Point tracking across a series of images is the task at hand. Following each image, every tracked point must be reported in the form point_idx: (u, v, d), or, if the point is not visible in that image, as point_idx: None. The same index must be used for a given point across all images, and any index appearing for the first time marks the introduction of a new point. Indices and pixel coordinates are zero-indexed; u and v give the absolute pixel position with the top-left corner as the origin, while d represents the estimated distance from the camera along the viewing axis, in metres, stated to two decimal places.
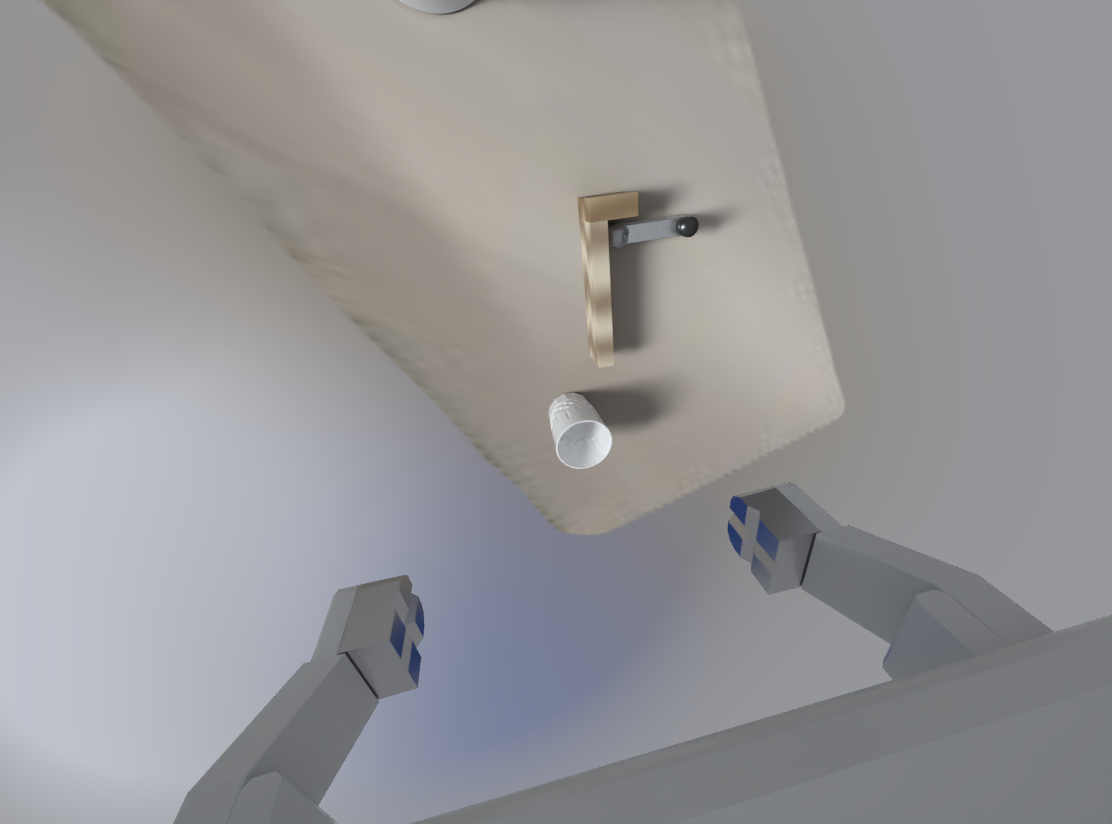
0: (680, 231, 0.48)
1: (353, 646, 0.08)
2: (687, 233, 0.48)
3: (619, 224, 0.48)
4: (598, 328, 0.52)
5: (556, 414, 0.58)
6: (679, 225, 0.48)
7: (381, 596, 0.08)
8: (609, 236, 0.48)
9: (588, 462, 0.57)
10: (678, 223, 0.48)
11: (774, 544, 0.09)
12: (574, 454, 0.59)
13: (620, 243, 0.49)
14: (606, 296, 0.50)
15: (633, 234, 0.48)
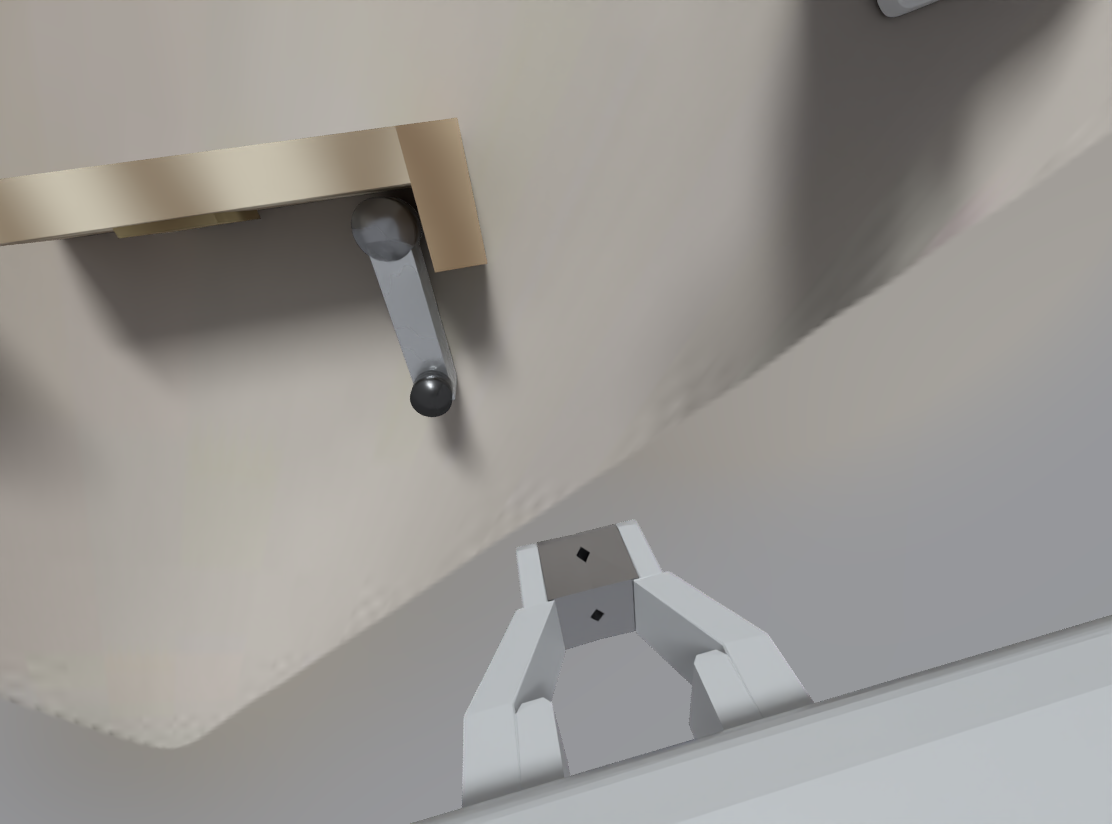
0: (418, 381, 0.22)
1: (559, 594, 0.08)
2: (417, 397, 0.22)
3: (411, 231, 0.19)
4: (57, 175, 0.15)
5: None
6: (431, 377, 0.22)
7: (565, 551, 0.09)
8: (377, 204, 0.18)
9: None
10: (436, 374, 0.22)
11: None
12: None
13: (366, 239, 0.19)
14: (189, 198, 0.16)
15: (395, 272, 0.20)
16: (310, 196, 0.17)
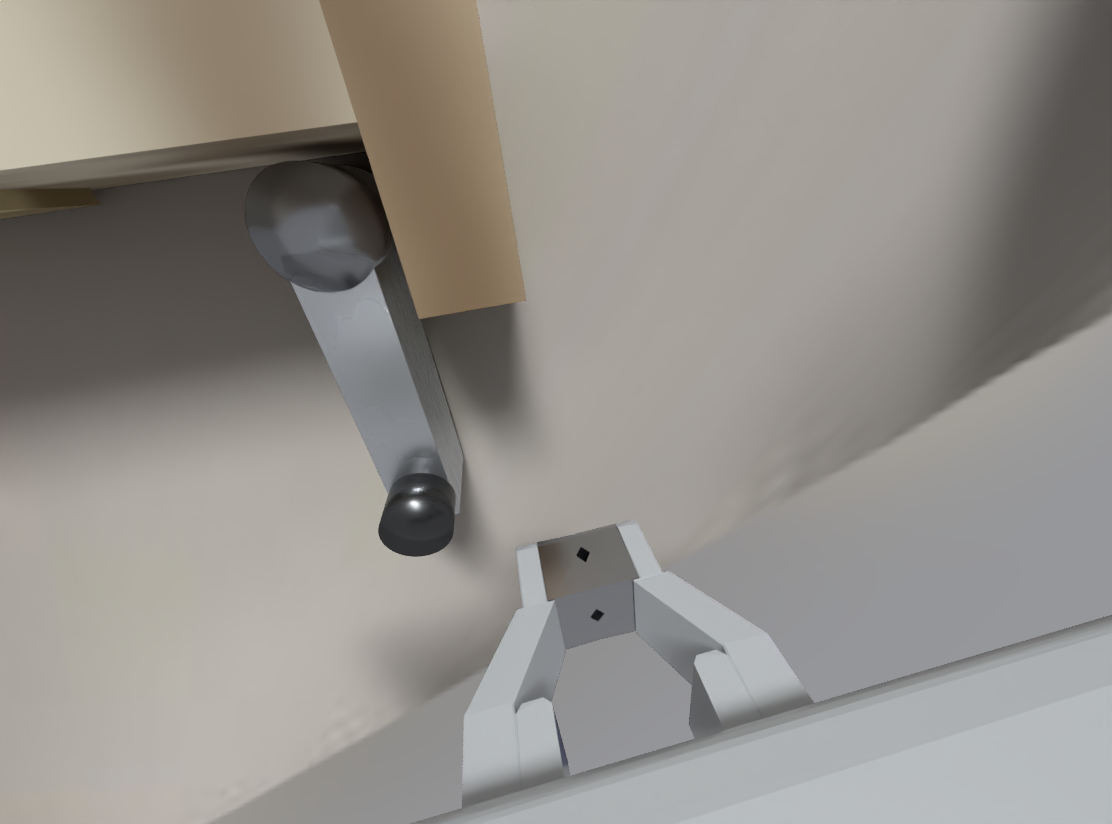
0: (394, 500, 0.12)
1: (559, 594, 0.08)
2: (391, 530, 0.12)
3: (372, 232, 0.09)
4: None
5: None
6: (417, 492, 0.12)
7: (565, 551, 0.09)
8: (297, 176, 0.09)
9: None
10: (426, 483, 0.13)
11: None
12: None
13: (281, 248, 0.09)
14: None
15: (344, 311, 0.10)
16: (115, 151, 0.07)
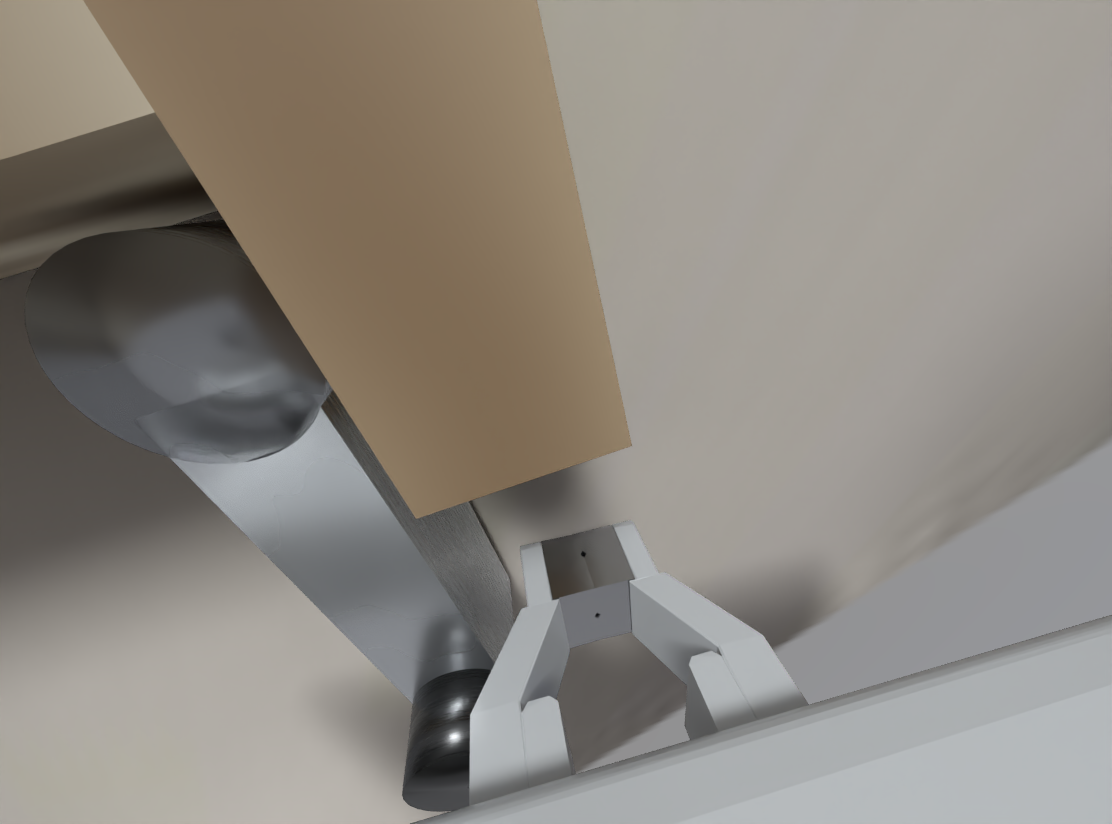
0: (422, 745, 0.07)
1: (563, 593, 0.08)
2: (424, 791, 0.07)
3: (303, 345, 0.05)
4: None
5: None
6: (457, 721, 0.08)
7: (570, 550, 0.09)
8: (118, 265, 0.04)
9: None
10: (468, 696, 0.08)
11: None
12: None
13: (132, 405, 0.05)
14: None
15: (284, 486, 0.06)
16: None
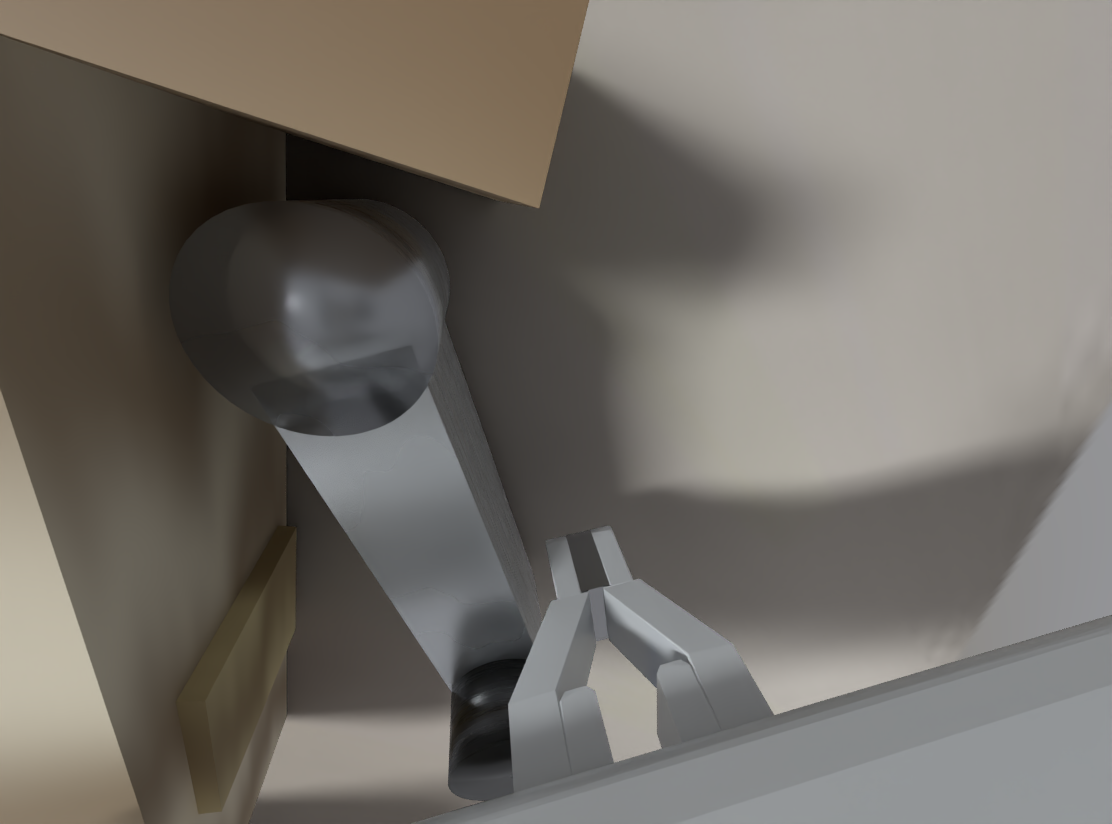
0: (470, 731, 0.07)
1: (592, 586, 0.08)
2: (469, 778, 0.07)
3: (424, 324, 0.05)
4: None
5: None
6: (505, 709, 0.08)
7: (595, 544, 0.09)
8: (270, 233, 0.04)
9: None
10: (513, 684, 0.08)
11: None
12: None
13: (251, 372, 0.05)
14: (77, 787, 0.05)
15: (376, 462, 0.06)
16: (48, 554, 0.04)
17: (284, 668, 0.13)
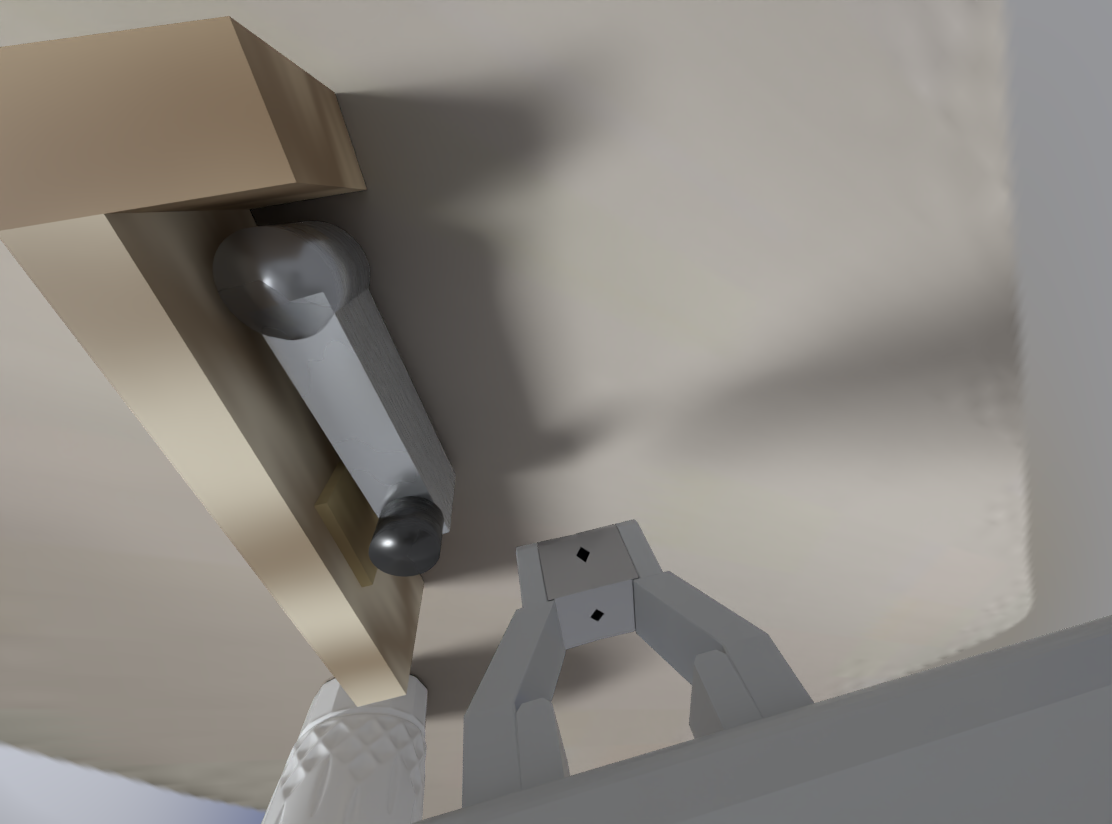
0: (381, 525, 0.13)
1: (559, 594, 0.08)
2: (381, 553, 0.13)
3: (328, 281, 0.10)
4: (298, 624, 0.14)
5: (277, 786, 0.20)
6: (402, 515, 0.13)
7: (565, 551, 0.09)
8: (254, 240, 0.10)
9: None
10: (411, 506, 0.13)
11: None
12: None
13: (249, 305, 0.10)
14: (282, 534, 0.12)
15: (314, 355, 0.11)
16: (217, 399, 0.10)
17: None
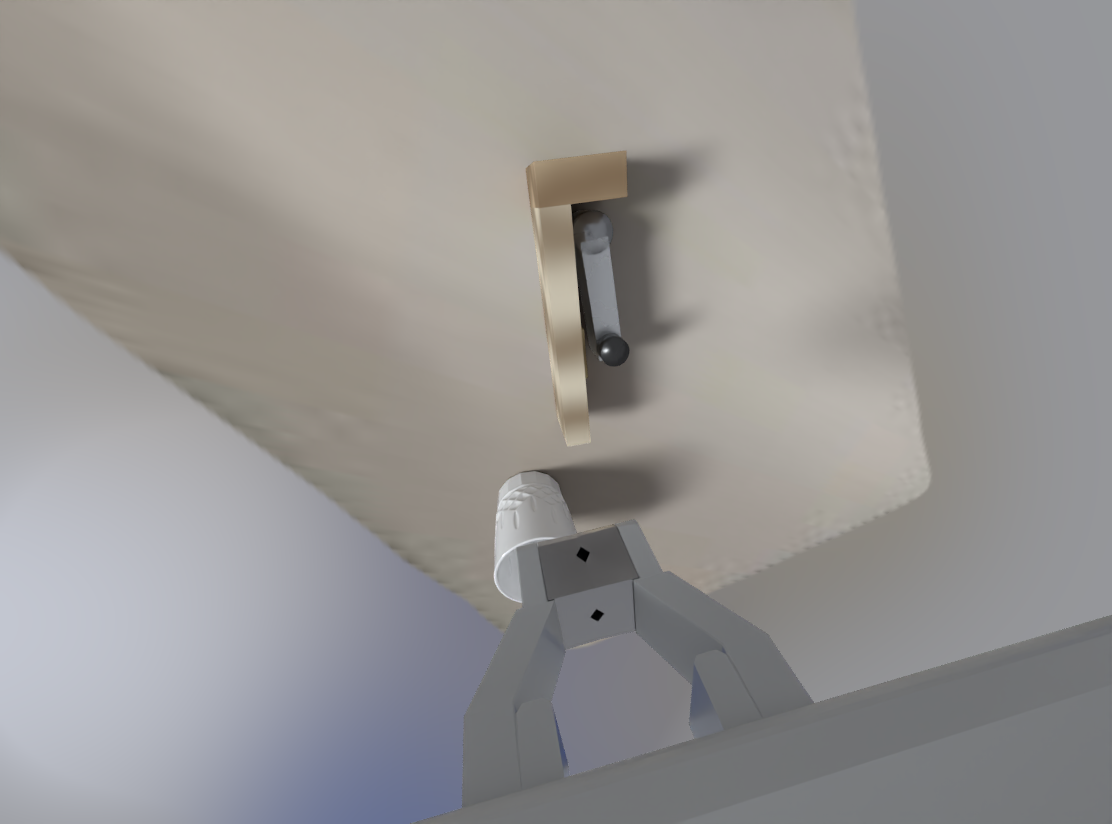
0: (606, 339, 0.30)
1: (558, 594, 0.08)
2: (606, 351, 0.30)
3: (611, 232, 0.28)
4: (562, 387, 0.31)
5: (502, 512, 0.37)
6: (614, 336, 0.30)
7: (565, 551, 0.09)
8: (592, 215, 0.27)
9: None
10: (615, 335, 0.31)
11: None
12: None
13: (581, 240, 0.28)
14: (574, 336, 0.29)
15: (596, 261, 0.29)
16: (575, 271, 0.27)
17: None
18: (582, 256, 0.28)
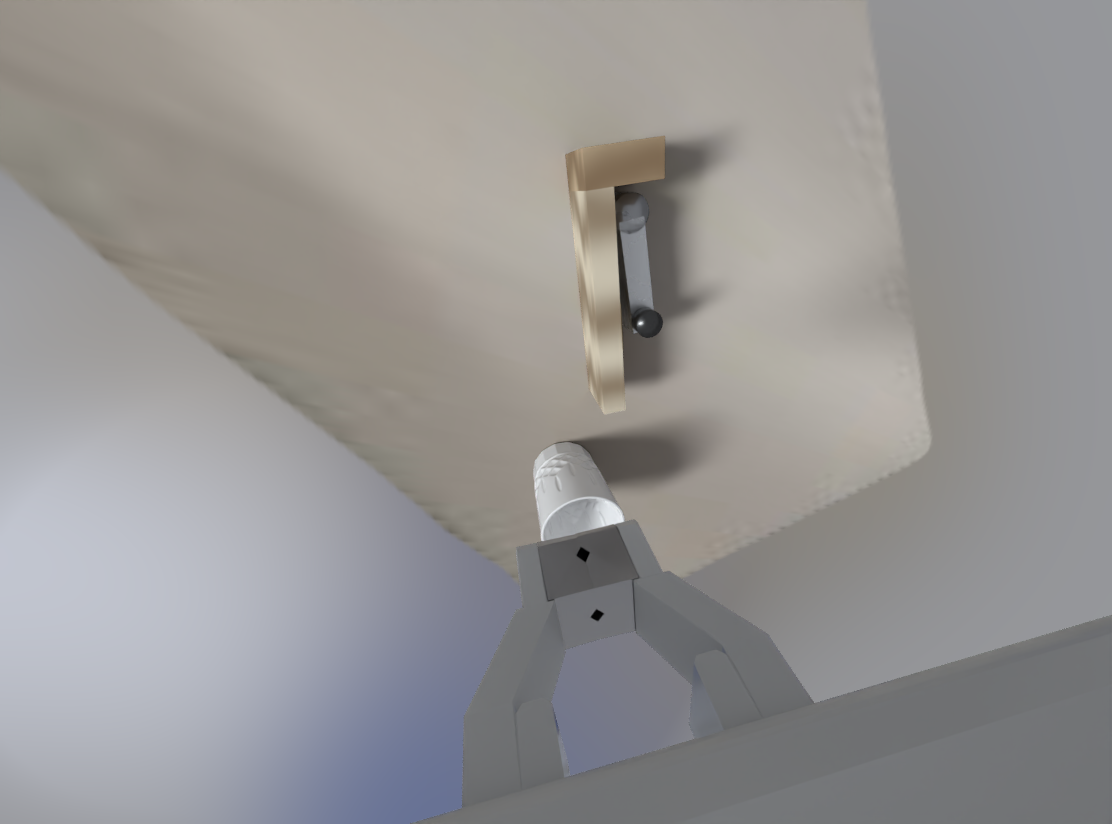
0: (642, 312, 0.33)
1: (558, 594, 0.08)
2: (642, 324, 0.33)
3: (647, 212, 0.30)
4: (601, 358, 0.34)
5: (542, 479, 0.40)
6: (649, 309, 0.33)
7: (565, 551, 0.09)
8: (630, 197, 0.29)
9: None
10: (649, 308, 0.33)
11: None
12: None
13: (620, 220, 0.30)
14: (613, 310, 0.32)
15: (633, 240, 0.31)
16: (616, 249, 0.30)
17: None
18: (620, 235, 0.31)
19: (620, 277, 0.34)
